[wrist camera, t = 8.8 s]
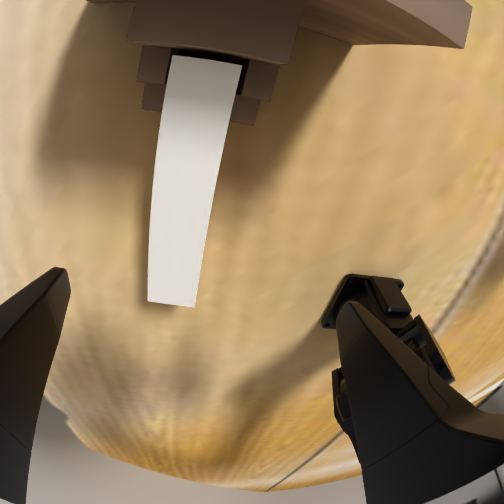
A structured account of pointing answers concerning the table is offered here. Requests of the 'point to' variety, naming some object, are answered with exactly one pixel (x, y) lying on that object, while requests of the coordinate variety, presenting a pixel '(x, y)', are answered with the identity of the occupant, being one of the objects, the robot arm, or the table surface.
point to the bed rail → (187, 173)
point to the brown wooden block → (277, 35)
